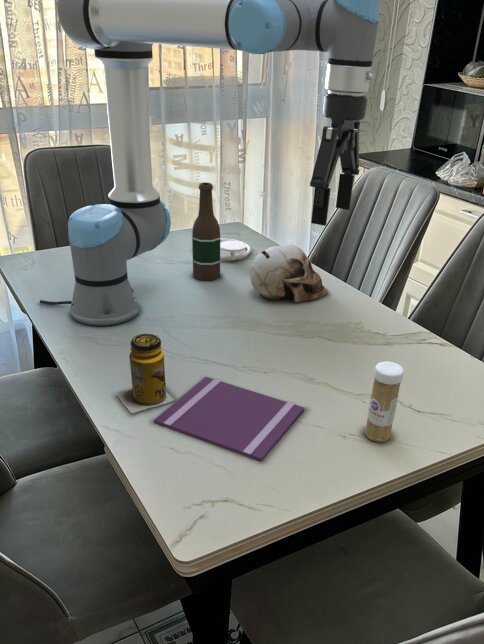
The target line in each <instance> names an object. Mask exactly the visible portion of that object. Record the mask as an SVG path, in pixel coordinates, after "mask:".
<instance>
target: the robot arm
mask: <svg viewBox="0 0 484 644" xmlns="http://www.w3.org/2000/svg"><path fill="white" fill-rule="evenodd" d="M56 5H57V6H56V11H57V17H58V20H59V25H60V26H61V28H62V30H63V32H64V33H65V34H66V36H67V37H68V38H69V39H70V40H71V41H72V42H73V43H75V44H76V45H78V46H80V47H81V48H84V49H89V50H94V52H93V53H94V59H95V60H96V61H97V62H98V63H99V64H100V65H101V66H102V68H103V76H104V85H105V99H106V109H107V120H108V132H109V140H110V141H109V142H110V152H111V153H110V154H111V164H112V174H113V184H114V186H113V188H112V190H111V191H110V192H109V193H108V203H109V204H107V203H99V204H98V203H97V204H94V205H87V206H83V207H81V208H79V209H77V210H76V211H73V213H71V214H70V216H69V218H68V221H67V227H68V233H67V237H68V241H69V247H70V255H71V260H72V261H71V262H72V268H73V275H74V281H75V282H74V283H75V284H74V288H73V293H72V300H61V301H50V300H42V299H40V300H39V304H44V305H50V306H51V305H52V306H58V305H59V306H60V305H70V313H71V317H72V318H73V319H74V320H75V321H76V322H78V323H79V324H84V325H87V326H95V327H105V326H106V327H107V326H115V325H119V324H123V323H125V322H128V321H131V320H132V319H134V318H135V317H136V316H137V315H138V313H139V302H138V299H137V298H136V296H135V294H134V293H135V291H134V289H133V287H132V286H131V283H130V281H129V276H128V264H127V262H128V261H129V260H131V259H134V258H136V257H137V256H138V257H139V256H140V255H142V254H145V253H146V252H150V251H152V250H154V249H156V248H157V247H158V246H161V245H162V244H163V243H164V242H165V241H166V240H167V238H168V236H169V234H170V231H171V225H172V221H171V215H170V212H169V209H168V208H166V204H165V203H164V202H163V201H162V200H161V193H160V192H159V191H157V189H156V188H155V187H154V184H153V169H152V151H151V135H150V132H151V131H150V116H149V115H150V113H149V100H148V99H149V98H148V97H149V96H148V82H147V68H148V65H149V64H150V63H151V62H152V61H153V60H154V59H153V56H154V55H153V45H167V46H168V45H169V46H181V47H192V48H193V47H194V48H204V49H205V48H206V49H219V50H230V51H231V50H233V51H240V52H245V53H247V54H252V55H266V54H268V53H275V52H289V51H310V52H311V51H312V52H321V53H328V59H327V67H326V75H325V85H324V88H325V90H326V91H327V92H326V93H325V94H324V95H323V105H322V115H323V117H324V118H327V119H330V121H331V122H330V125H329V126H326V125H324V126H323V128H322V133H321V141H320V144H319V148H318V152H317V156H316V160H315V162H314V167H313V171H312V174H311V178H310V181H309V187H311V188H314V192H313V193H314V194H313V201H312V202H313V203H312V210H311V219H310V220H311V221H310V224H314V225H317V226H318V225H319V226H325V227H326V226H327V221H328V214H329V205H330V197H331V188H330V185H331V182H332V178H333V175H334V173H335V170H336V166H337V165H338V161H340V167H341V173H340V174H339V179H338V186H337V195H336V201H335V202H336V203H335V208H336V209H341V210H346V211H349V210H350V209H351V201H352V194H353V187H354V179H355V176H359V174H360V169H359V168H360V129H361V128H360V127H361V120H364V119H365V117H366V113H367V104H368V98H367V96H366V95H365V94H366V93H368V92H369V88H370V81H372V80H373V79H374V73H371V72H372V67H373V59H374V52H375V47H376V42H377V41H376V40H377V35H378V34H377V33H378V27H379V24H380V10H381V0H57V4H56Z"/></svg>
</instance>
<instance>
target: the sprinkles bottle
mask: <svg viewBox="0 0 484 644" xmlns="http://www.w3.org/2000/svg"><path fill="white" fill-rule="evenodd" d="M404 372H405V370H404V368H403V366H402V365H400V364H399V363H396V362H393V361H387V360H386V361H380V362H378V363H377V364H375V367H374V372H373V383H372V384H373V385H372V389H371V394H370V401H369V405H368V410H367V418H366V425H365V428H364V435H365V436H366V438H367V439H369V440H371V441H373V442H377V443H379V442H381V443H382V442H386V441H388V440H389V439H390V438H391V436H392V428H393V423H394V419H395V416H396V415H395V414H396V409H397V406H398V405H397V404H398V399H399V393H400V389H401V388H400V387H401V383H402V381H403V379H404Z"/></svg>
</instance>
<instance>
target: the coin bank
mask: <svg viewBox="0 0 484 644" xmlns="http://www.w3.org/2000/svg"><path fill="white" fill-rule="evenodd" d="M250 282H251V286H252V287H253V289H255V290H256V291H257V292H258V293H259V294H260V296H261V297H263V298H266V299H270V300H280V299H287V298H292V301H293V302H294V303H300V302H310V301H314V300H317V299H318V300H320V299H322V298H323V297H324V296H325V295H327V294H328V289H327V288H326V286H324V285H323V280H322V277H321V275H320V274H319V273H318V272H317V271H315V270H314V267H313V266H312V260H310V258H309V256H307V254H306V253H305V252H304V251H303V249H301V248H300V247H299V246H296V245H294V244H291V243H290V244H281V245H274V246H271V247H268V248H265V249H264V250H262V251H260V252H259V253H257V256H255V258H254V259H253V261H252V263H251V267H250Z"/></svg>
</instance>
